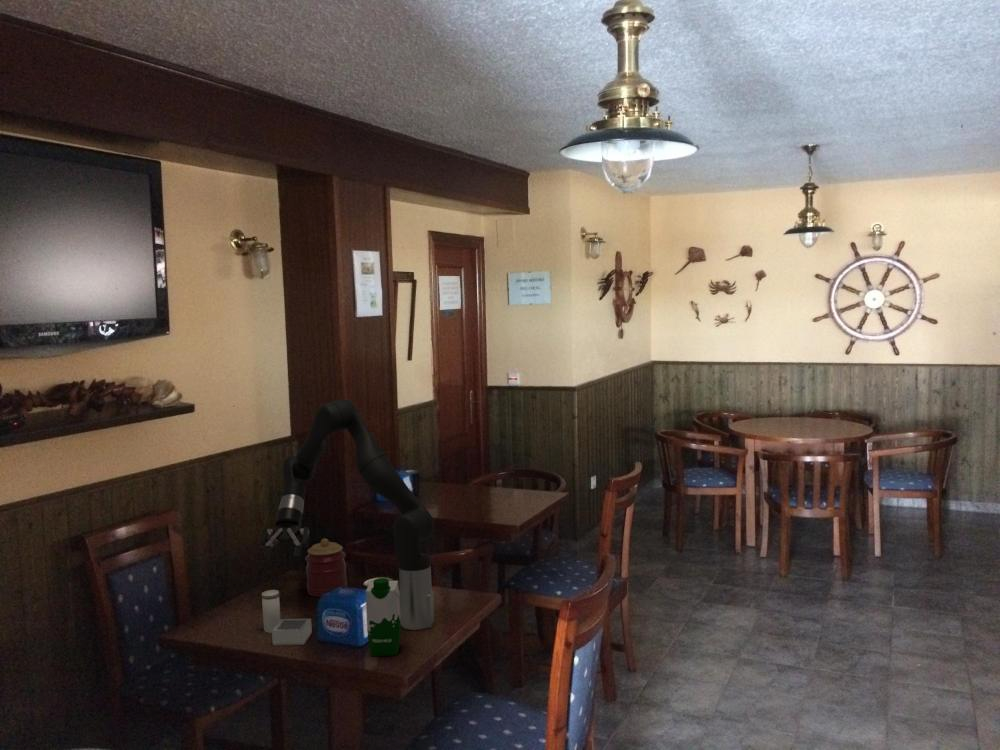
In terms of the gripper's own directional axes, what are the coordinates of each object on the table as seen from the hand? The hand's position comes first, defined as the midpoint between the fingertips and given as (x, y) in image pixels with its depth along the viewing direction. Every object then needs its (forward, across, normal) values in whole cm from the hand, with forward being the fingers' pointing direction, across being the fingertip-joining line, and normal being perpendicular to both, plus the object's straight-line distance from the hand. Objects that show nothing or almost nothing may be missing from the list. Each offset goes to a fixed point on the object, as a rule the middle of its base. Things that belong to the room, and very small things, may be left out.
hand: (281, 559), depth 251 cm
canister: (-2, +8, +27) cm, 28 cm away
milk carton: (+32, +36, -8) cm, 49 cm away
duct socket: (+25, +8, -1) cm, 27 cm away
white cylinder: (+20, 0, +4) cm, 21 cm away
